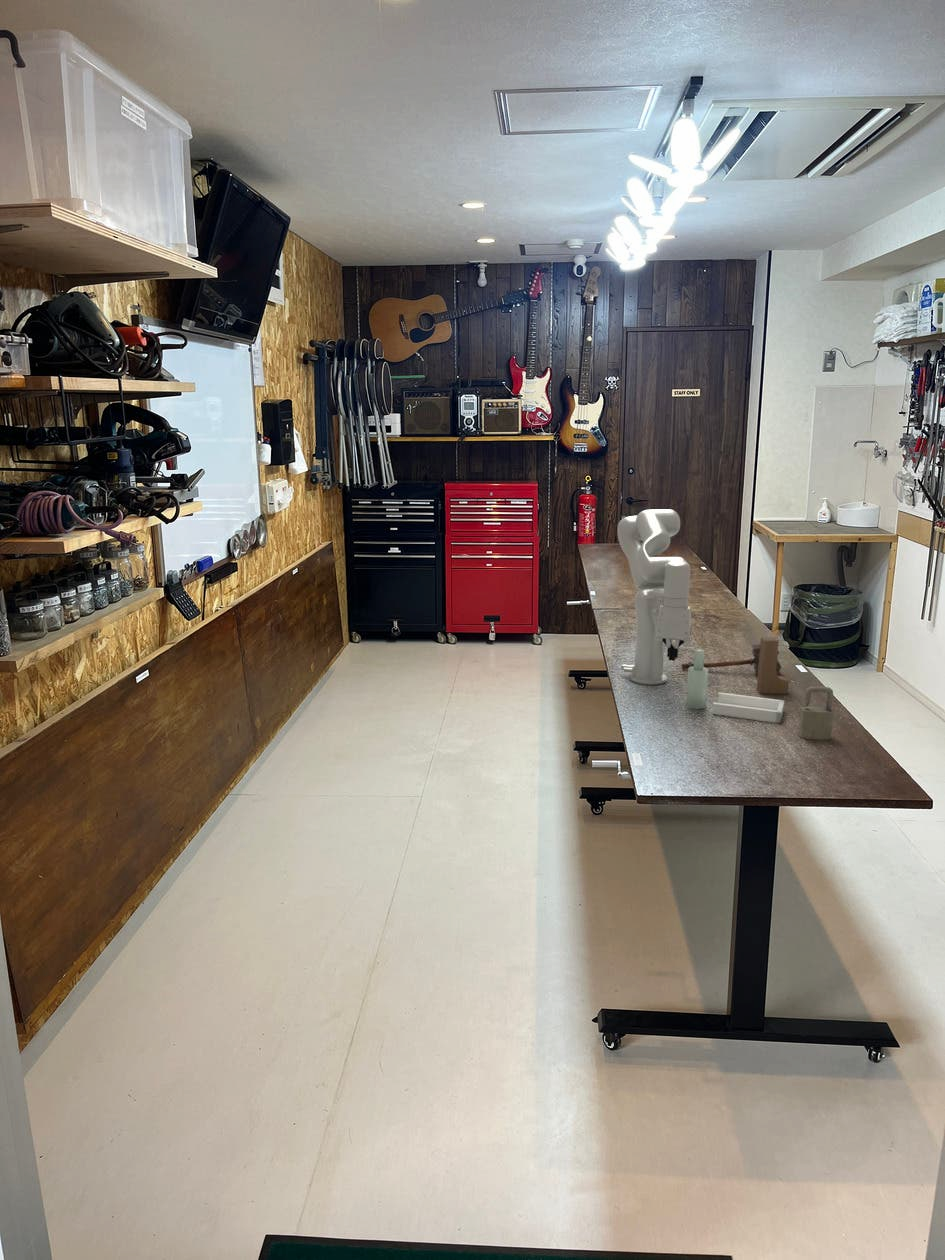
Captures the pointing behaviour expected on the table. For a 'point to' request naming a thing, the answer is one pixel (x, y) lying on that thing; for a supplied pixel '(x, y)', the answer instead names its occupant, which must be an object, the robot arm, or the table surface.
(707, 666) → the hammer
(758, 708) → the u rest
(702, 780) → the table surface
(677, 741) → the table surface
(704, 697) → the bottle
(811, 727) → the padlock
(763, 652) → the wooden block
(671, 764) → the table surface
